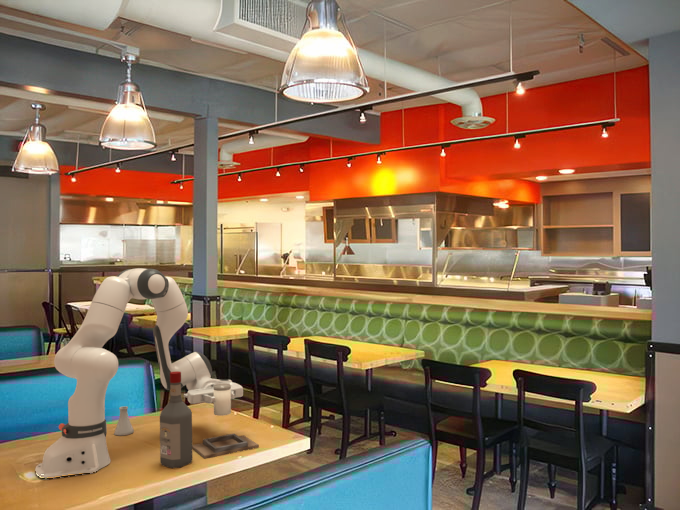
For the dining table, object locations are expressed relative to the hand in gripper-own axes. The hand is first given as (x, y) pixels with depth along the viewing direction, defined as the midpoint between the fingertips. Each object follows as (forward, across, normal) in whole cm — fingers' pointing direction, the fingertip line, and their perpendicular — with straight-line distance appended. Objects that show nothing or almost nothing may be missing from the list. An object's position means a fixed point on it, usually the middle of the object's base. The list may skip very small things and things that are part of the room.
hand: (223, 398), depth 214 cm
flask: (-37, -26, +18) cm, 48 cm away
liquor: (+6, -19, +18) cm, 27 cm away
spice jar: (-1, 0, +6) cm, 6 cm away
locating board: (+1, 0, +17) cm, 17 cm away
